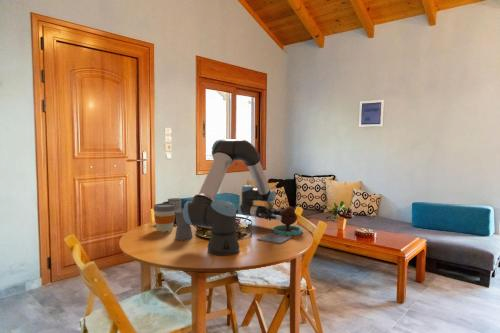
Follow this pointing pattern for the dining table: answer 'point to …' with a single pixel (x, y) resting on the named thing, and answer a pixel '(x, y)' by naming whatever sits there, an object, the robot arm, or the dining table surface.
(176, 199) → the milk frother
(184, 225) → the coffeepot
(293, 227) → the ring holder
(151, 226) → the dining table surface
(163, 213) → the reusable coffee cup
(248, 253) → the dining table surface
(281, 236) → the mat
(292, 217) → the ice cream bowl
